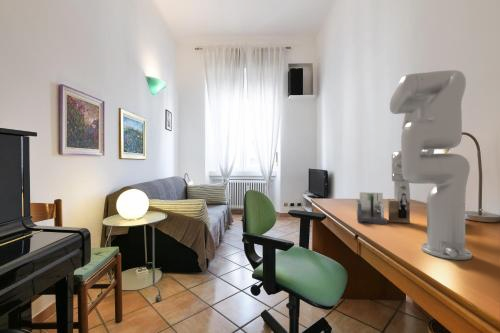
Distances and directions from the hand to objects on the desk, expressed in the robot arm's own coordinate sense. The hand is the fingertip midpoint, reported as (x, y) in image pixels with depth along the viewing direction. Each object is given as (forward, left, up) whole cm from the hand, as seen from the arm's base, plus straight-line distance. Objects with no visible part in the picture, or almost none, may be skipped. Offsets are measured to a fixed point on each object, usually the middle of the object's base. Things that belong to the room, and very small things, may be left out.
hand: (401, 216), depth 116 cm
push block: (0, +1, -2) cm, 3 cm away
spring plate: (0, +9, -1) cm, 9 cm away
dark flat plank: (+3, +12, -1) cm, 12 cm away
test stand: (0, +13, -3) cm, 13 cm away
